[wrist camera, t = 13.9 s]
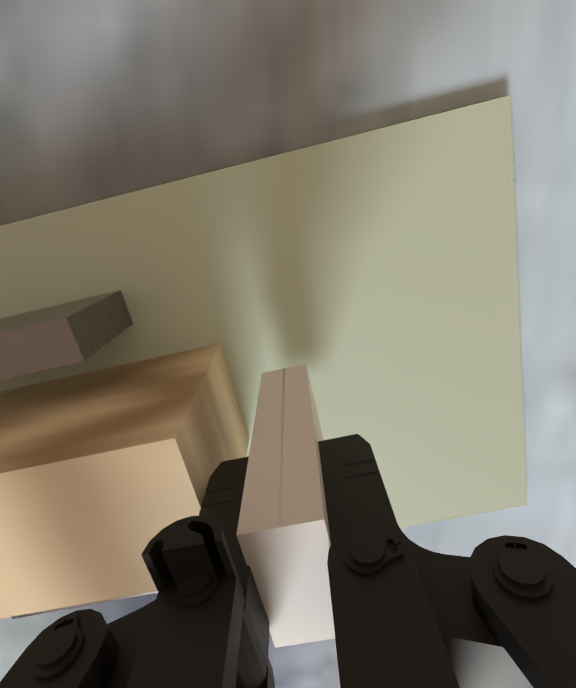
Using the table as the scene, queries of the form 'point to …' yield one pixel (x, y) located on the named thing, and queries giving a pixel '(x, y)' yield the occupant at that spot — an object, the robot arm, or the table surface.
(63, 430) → the pine slat
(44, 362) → the open saddle
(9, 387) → the sage board
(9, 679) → the robot arm
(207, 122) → the table surface
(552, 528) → the table surface
